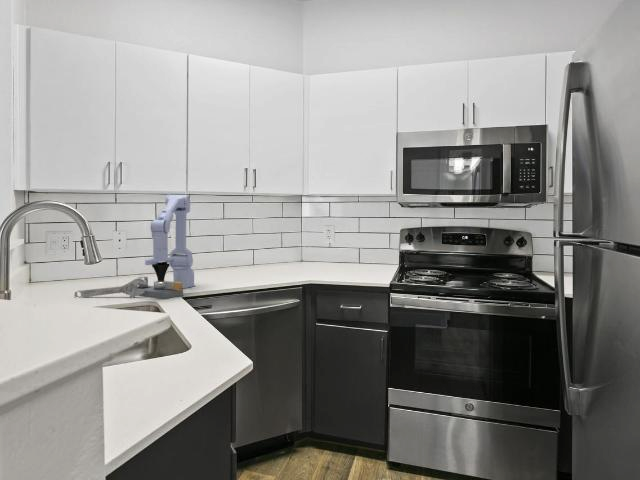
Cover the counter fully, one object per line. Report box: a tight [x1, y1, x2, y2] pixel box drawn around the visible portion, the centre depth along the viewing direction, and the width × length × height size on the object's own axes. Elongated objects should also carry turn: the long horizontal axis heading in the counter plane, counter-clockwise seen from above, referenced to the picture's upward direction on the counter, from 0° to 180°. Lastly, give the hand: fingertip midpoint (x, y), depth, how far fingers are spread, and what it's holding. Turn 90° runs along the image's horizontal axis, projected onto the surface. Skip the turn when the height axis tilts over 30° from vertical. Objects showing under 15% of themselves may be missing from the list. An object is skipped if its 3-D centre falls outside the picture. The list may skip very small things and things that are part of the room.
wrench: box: [74, 277, 147, 299], centre depth 196 cm, size 8×2×30 cm
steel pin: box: [137, 276, 149, 289], centre depth 206 cm, size 4×4×7 cm
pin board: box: [137, 285, 184, 300], centre depth 202 cm, size 10×24×2 cm, turn 62°
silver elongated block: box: [153, 280, 183, 291], centre depth 201 cm, size 6×14×4 cm, turn 62°
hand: (161, 280), depth 195 cm, fingers closed
